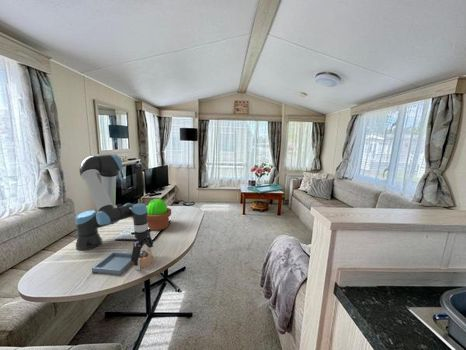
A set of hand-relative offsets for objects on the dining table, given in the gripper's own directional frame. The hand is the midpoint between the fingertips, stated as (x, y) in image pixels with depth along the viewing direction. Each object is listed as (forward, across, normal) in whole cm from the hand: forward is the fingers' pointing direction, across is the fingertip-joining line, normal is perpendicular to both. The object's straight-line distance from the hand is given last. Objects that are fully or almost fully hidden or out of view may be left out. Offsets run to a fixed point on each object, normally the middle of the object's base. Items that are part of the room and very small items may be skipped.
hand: (143, 263), depth 125 cm
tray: (0, +4, -15) cm, 16 cm away
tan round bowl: (0, 0, 0) cm, 0 cm away
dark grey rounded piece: (0, 0, 0) cm, 0 cm away
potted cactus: (0, -51, -17) cm, 54 cm away
